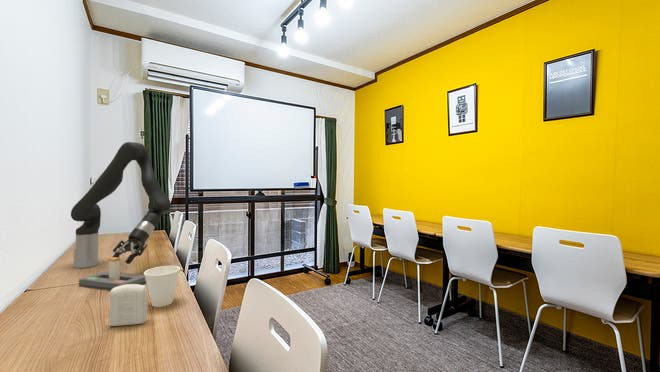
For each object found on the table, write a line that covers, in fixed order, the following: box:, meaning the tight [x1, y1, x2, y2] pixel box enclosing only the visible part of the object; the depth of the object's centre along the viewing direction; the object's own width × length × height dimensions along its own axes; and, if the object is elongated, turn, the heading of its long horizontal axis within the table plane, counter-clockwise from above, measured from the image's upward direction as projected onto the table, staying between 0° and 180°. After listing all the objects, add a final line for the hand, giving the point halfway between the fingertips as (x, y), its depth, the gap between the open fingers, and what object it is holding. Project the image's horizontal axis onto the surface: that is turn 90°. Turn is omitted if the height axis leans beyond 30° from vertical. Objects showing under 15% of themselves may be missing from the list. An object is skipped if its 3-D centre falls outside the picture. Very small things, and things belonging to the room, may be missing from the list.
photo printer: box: [109, 284, 148, 327], centre depth 93 cm, size 10×4×12 cm, turn 103°
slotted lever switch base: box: [78, 270, 147, 292], centre depth 127 cm, size 24×12×3 cm, turn 75°
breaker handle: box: [108, 256, 121, 280], centre depth 127 cm, size 3×2×10 cm
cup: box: [143, 265, 181, 308], centre depth 108 cm, size 12×12×12 cm
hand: (119, 262), depth 129 cm, fingers open, 8 cm apart
